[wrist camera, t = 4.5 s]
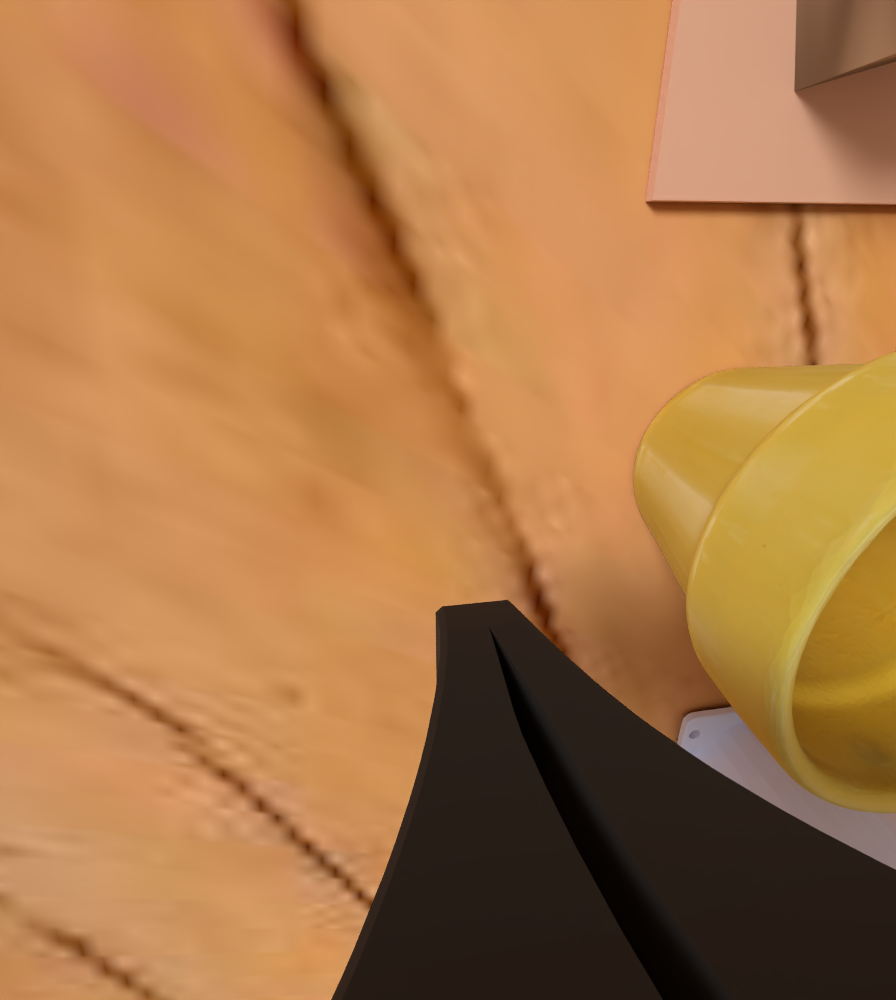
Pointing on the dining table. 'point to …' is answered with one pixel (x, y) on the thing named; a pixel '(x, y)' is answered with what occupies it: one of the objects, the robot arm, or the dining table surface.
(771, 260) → the dining table surface
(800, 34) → the walnut block
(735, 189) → the terracotta mat
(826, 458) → the plant pot
